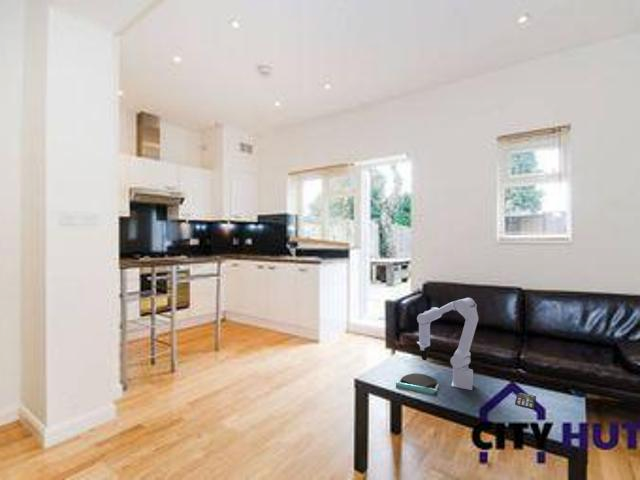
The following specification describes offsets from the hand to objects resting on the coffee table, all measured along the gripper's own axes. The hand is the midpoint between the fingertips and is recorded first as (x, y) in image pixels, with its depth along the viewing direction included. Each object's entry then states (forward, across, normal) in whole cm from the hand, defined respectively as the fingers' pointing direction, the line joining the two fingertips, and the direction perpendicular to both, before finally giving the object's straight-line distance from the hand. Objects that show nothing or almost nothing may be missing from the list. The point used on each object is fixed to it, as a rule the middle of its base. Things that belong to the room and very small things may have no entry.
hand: (424, 359), depth 189 cm
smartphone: (+8, +12, +47) cm, 49 cm away
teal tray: (+7, +20, 0) cm, 21 cm away
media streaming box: (+8, +15, 0) cm, 17 cm away
